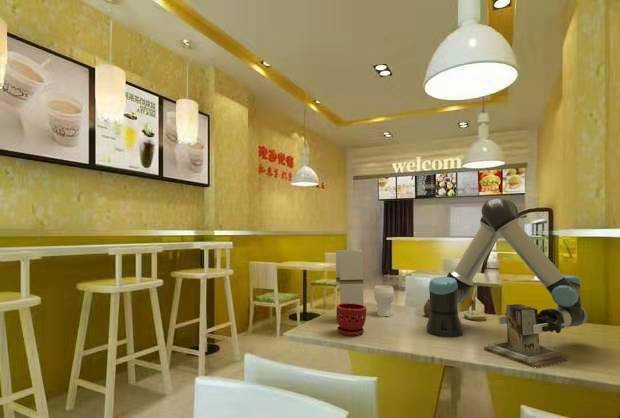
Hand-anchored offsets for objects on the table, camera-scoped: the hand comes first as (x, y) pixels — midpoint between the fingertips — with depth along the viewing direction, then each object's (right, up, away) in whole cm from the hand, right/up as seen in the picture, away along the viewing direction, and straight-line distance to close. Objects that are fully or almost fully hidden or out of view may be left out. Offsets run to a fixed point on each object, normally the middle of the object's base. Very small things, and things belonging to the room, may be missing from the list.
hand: (516, 324), depth 127 cm
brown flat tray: (+3, -11, +1) cm, 11 cm away
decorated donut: (+10, -15, +54) cm, 57 cm away
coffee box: (+3, -10, +1) cm, 11 cm away
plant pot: (-55, -14, +30) cm, 64 cm away
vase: (-10, -15, +59) cm, 62 cm away
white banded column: (-54, -15, +51) cm, 76 cm away
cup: (-34, -16, +63) cm, 73 cm away
